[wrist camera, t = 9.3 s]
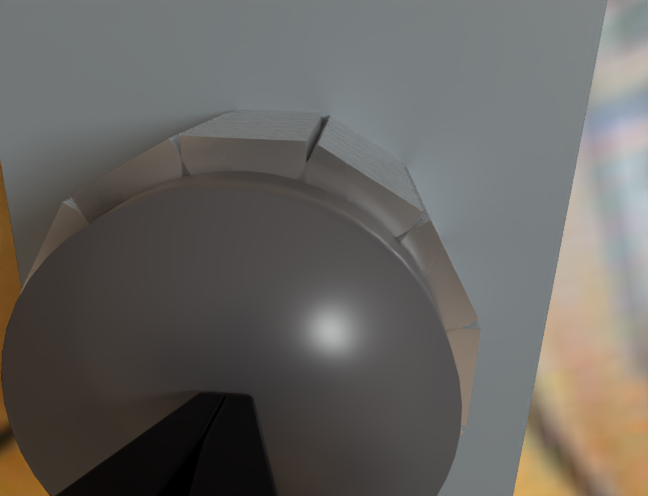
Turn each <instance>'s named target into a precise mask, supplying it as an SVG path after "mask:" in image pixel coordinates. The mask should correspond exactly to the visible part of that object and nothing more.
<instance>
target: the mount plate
mask: <svg viewBox="0 0 648 496" xmlns="http://www.w3.org/2000/svg"><path fill="white" fill-rule="evenodd" d="M606 5H607V0H0V161H1V167H2V173H3V179H4V185H5V191H6V198H7V204H8V210H9V216H10V222H11V228H12V234H13V240H14V246H15V252H16V258H17V264H18V270H19V276H20V282H21V288H23V286H24V283H25V281H26V279H27V277H28V275H29V273H30V271H31V268H32V266H33V264H34V262H35V260H36V258H37V256H38V253H39V251H40V249H41V247H42V245H43V243H44V240H45V238H46V236H47V234H48V232H49V230H50V228H51V225H52V223H53V221H54V219H55V217H56V215H57V213H58V210H59V208H60V206H61V204H62V202H64V201H66V200H68V199H70V198H71V197H70V194H71V193H73V192H75V191H77V190H78V189H80V188H82V187H84V186H86V185H87V184H89V183H91V182H93V181H94V180H96V179H98V178H100V177H101V176H103V175H105V174H107V173H108V172H110V171H112V170H114V169H115V168H117V167H119V166H121V165H123V164H124V163H126V162H128V161H130V160H131V159H133V158H135V157H137V156H138V155H140V154H142V153H144V152H145V151H147V150H149V149H151V148H152V147H154V146H156V145H158V144H160V143H161V142H163V141H165V140H167V139H168V138H171V137H173V136H175V135H177V134H180V133H182V132H184V131H186V130H189V129H191V128H193V127H195V126H198V125H200V124H202V123H204V122H207V121H209V120H211V119H213V118H216V117H218V116H220V115H222V114H225V113H227V112H229V111H231V112H233V111H235V110H237V109H250V110H274V111H298V112H323V127H324V125H325V124H326V122H327V120H328V119H329V117H330V115H332V116H333V117H335V118H336V119H338V120H339V121H341V122H342V123H344V124H345V125H347V126H348V127H350V128H352V129H353V130H355V131H356V132H358V133H359V134H361V135H362V136H364V137H365V138H367V139H369V140H370V141H372V142H373V143H375V144H376V145H378V146H379V147H381V148H382V149H384V150H386V151H387V152H389V153H390V154H392V155H393V156H395V157H396V158H398V159H399V160H401V161H402V163H403V165H404V168H405V167H407V168H408V170H409V172H410V175H411V177H412V179H413V181H414V183H415V185H416V187H417V189H418V191H419V193H420V195H421V197H422V199H423V201H424V203H425V205H426V207H427V210H428V212H429V214H430V216H431V218H432V220H433V222H434V224H435V226H436V228H437V230H438V232H439V234H440V236H441V238H442V241H443V243H444V245H445V247H446V249H447V251H448V253H449V256H450V258H451V260H452V262H453V264H454V266H455V269H456V271H457V273H458V275H459V277H460V279H461V281H462V284H463V286H464V288H465V290H466V292H467V294H468V296H469V299H470V301H471V303H472V305H473V307H474V309H475V312H476V314H477V316H478V318H479V320H477V322H478V324H479V327H480V329H481V331H480V338H479V345H478V352H477V359H476V365H475V372H474V379H473V386H472V393H471V399H470V406H469V413H468V420H467V426H464V425H461V429H462V433H463V434H462V435H461V436H460V437H459V441H458V446H457V451H456V455H455V458H454V461H453V463H452V466H451V469H450V471H449V474H448V476H447V479H446V481H445V483H444V484H443V486H442V488H441V490H440V491H439V493H438V495H437V496H513V493H514V487H515V482H516V477H517V472H518V466H519V461H520V456H521V451H522V445H523V440H524V435H525V430H526V425H527V419H528V414H529V409H530V404H531V398H532V393H533V388H534V383H535V377H536V372H537V367H538V362H539V356H540V351H541V346H542V341H543V335H544V330H545V325H546V320H547V314H548V309H549V304H550V299H551V293H552V288H553V283H554V278H555V273H556V267H557V262H558V257H559V252H560V246H561V241H562V236H563V231H564V225H565V220H566V215H567V210H568V204H569V199H570V194H571V189H572V183H573V178H574V173H575V168H576V162H577V157H578V152H579V147H580V142H581V136H582V131H583V126H584V121H585V115H586V110H587V105H588V100H589V94H590V89H591V84H592V79H593V73H594V68H595V63H596V58H597V52H598V47H599V42H600V37H601V31H602V26H603V21H604V16H605V11H606ZM323 127H322V128H323Z"/></svg>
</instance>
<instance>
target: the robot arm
mask: <svg viewBox="0 0 648 496" xmlns="http://www.w3.org/2000/svg"><path fill="white" fill-rule="evenodd" d="M55 496H278V492H277V488H276V484H275V480H274V476H273V472H272V468H271V464H270V460H269V456H268V452H267V448H266V444H265V441H264V437H263V433H262V429H261V425H260V421H259V417H258V413H257V409H256V405H255V401H254V398H253V397H252V396H251V395H239V394H229V395H227V396H225V395H224V394H222V393H207V392H201V393H199V394H197V395H195V396H194V397H193V398H191V399H190V400H188V401H187V402H186V403H184V404H183V405H181V406H180V407H179V408H177V409H176V410H174V411H173V412H172V413H170V414H169V415H167V416H166V417H165V418H163V419H162V420H160V421H159V422H158V423H156V424H155V425H153V426H152V427H151V428H149V429H148V430H146V431H145V432H143V433H142V434H141V435H139V436H138V437H136V438H135V439H134V440H132V441H131V442H129V443H128V444H127V445H125V446H124V447H122V448H121V449H120V450H118V451H117V452H115V453H114V454H113V455H111V456H110V457H108V458H107V459H106V460H104V461H103V462H101V463H100V464H99V465H97V466H96V467H94V468H93V469H92V470H90V471H89V472H87V473H86V474H85V475H83V476H82V477H80V478H79V479H77V480H76V481H75V482H73V483H72V484H70V485H69V486H68V487H66V488H65V489H63V490H62V491H61V492H59V493H58V494H56V495H55Z"/></svg>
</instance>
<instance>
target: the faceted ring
mask: <svg viewBox="0 0 648 496" xmlns="http://www.w3.org/2000/svg"><path fill="white" fill-rule="evenodd" d="M322 127H323V112H298V111H274V110H250V109H237V110H235V111H233V112H231V111H229V112H227V113H225V114H222V115H220V116H218V117H216V118H213V119H211V120H209V121H207V122H204V123H202V124H200V125H198V126H195V127H193V128H191V129H189V130H186V131H184V132H182V133H180V134H177V135H175V136H173V137H171V138H168V139H167V140H165V141H163V142H161V143H160V144H158V145H156V146H154V147H152V148H151V149H149V150H147V151H145V152H144V153H142V154H140V155H138V156H137V157H135V158H133V159H131V160H130V161H128V162H126V163H124V164H123V165H121V166H119V167H117V168H115V169H114V170H112V171H110V172H108V173H107V174H105V175H103V176H101V177H100V178H98V179H96V180H94V181H93V182H91V183H89V184H87V185H86V186H84V187H82V188H80V189H78V190H77V191H75V192H73V193H71V194H70V197H71V198H70V199H68V200H66V201H64V202H62V204H61V206H60V208H59V210H58V213H57V215H56V217H55V219H54V221H53V223H52V225H51V228H50V230H49V232H48V234H47V236H46V238H45V240H44V243H43V245H42V247H41V249H40V251H39V253H38V256H37V258H36V260H35V262H34V264H33V266H32V268H31V271H30V273H29V275H28V277H27V279H26V281H25V283H24V286H23V288H22V290H21V292H20V294H21V293H22V291H23V289H24V287H25V286H26V284H27V282H28V280H29V279H30V277H31V276H32V275H33V274H34V272H35V271H36V270H37V269H38V267H39V266H40V265H41V264H42V262H43V261H44V260H45V259H46V257H48V256H49V255H50V254H51V253H52V252H53V251H54V250H55V249H56V248H57V247H59V246H60V245H61V244H62V243H63V242H64V241H65V240H66V239H67V238H69V237H70V236H72V235H73V234H75V233H76V232H78V231H79V230H81V229H82V228H84V227H85V226H87V225H88V224H90V223H91V222H93V221H95V220H96V219H98V218H99V217H101V216H102V215H104V214H106V213H107V212H109V211H110V210H112V209H114V208H115V207H117V206H118V205H120V204H121V203H123V202H125V201H126V200H128V199H129V198H131V197H133V196H134V195H136V194H138V193H140V192H143V191H145V190H147V189H149V188H151V187H153V186H155V185H158V184H160V183H163V182H167V181H170V180H173V179H177V178H180V177H183V176H187V175H194V174H200V173H206V172H212V171H251V172H260V173H270V174H275V175H279V176H283V177H288V178H292V179H296V180H300V181H303V182H306V183H308V184H311V185H314V186H316V187H319V188H321V189H324V190H327V191H329V192H331V193H333V194H335V195H336V196H338V197H340V198H342V199H344V200H346V201H348V202H350V203H351V204H353V205H355V206H356V207H358V208H359V209H360V210H362V211H363V212H365V213H366V214H367V215H369V216H370V217H372V218H373V219H374V220H376V221H377V222H378V223H379V224H380V225H381V226H382V227H384V228H385V229H386V230H387V231H388V232H389V233H390V234H391V235H392V236H393V237H394V238H395V239H396V240H397V241H398V242H399V243H400V244H401V245H402V247H403V248H404V249H405V250H406V252H407V253H408V254H409V255H410V257H411V258H412V259H413V260H414V261H415V263H416V265H417V266H418V268H419V270H420V271H421V273H422V275H423V276H424V278H425V280H426V281H427V283H428V285H429V287H430V290H431V292H432V294H433V297H434V299H435V301H436V304H437V306H438V309H439V312H440V315H441V318H442V321H443V324H444V327H445V330H446V334H447V337H448V340H449V343H450V346H451V349H452V352H453V356H454V360H455V364H456V367H457V371H458V375H459V379H460V389H461V399H462V417H461V425H464V426H467V420H468V413H469V406H470V399H471V393H472V386H473V379H474V372H475V365H476V359H477V352H478V345H479V338H480V331H481V329H480V327H479V324H478V322H477V320H479V318H478V316H477V314H476V312H475V309H474V307H473V305H472V303H471V301H470V299H469V296H468V294H467V292H466V290H465V288H464V286H463V284H462V281H461V279H460V277H459V275H458V273H457V271H456V269H455V266H454V264H453V262H452V260H451V258H450V256H449V253H448V251H447V249H446V247H445V245H444V243H443V241H442V238H441V236H440V234H439V232H438V230H437V228H436V226H435V224H434V222H433V220H432V218H431V216H430V214H429V212H428V210H427V207H426V205H425V203H424V201H423V199H422V197H421V195H420V193H419V191H418V189H417V187H416V185H415V183H414V181H413V179H412V177H411V175H410V172H409V170H408V168H407V167H405V168H404V165H403V163H402V161H401V160H399V159H398V158H396V157H395V156H393V155H392V154H390V153H389V152H387V151H386V150H384V149H382V148H381V147H379V146H378V145H376V144H375V143H373V142H372V141H370V140H369V139H367V138H365V137H364V136H362V135H361V134H359V133H358V132H356V131H355V130H353V129H352V128H350V127H348V126H347V125H345V124H344V123H342V122H341V121H339V120H338V119H336V118H335V117H333V116H332V115H330V117H329V119H328V120H327V122H326V124H325V125H324V127H323V128H322ZM462 434H463V433H462V429H461V432H460V436H461V435H462Z"/></svg>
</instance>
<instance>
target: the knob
mask: <svg viewBox="0 0 648 496" xmlns="http://www.w3.org/2000/svg"><path fill="white" fill-rule="evenodd" d="M1 380H2V389H3V397H4V404H5V408H6V412H7V415H8V419H9V423H10V427H11V430H12V432H13V434H14V437H15V439H16V441H17V444H18V446H19V449H20V451H21V453H22V455H23V456H24V458H25V460H26V462H27V463H28V465H29V467H30V468H31V470H32V472H33V474H34V475H35V477H36V478H37V479H38V480H39V482H40V483H41V484H42V486H43V487H44V488H45V490H46V491H47V492H48V494H49V495H50V496H55V495H56V494H58V493H59V492H61V491H62V490H63V489H65V488H66V487H68V486H69V485H70V484H72V483H73V482H75V481H76V480H77V479H79V478H80V477H82V476H83V475H85V474H86V473H87V472H89V471H90V470H92V469H93V468H94V467H96V466H97V465H99V464H100V463H101V462H103V461H104V460H106V459H107V458H108V457H110V456H111V455H113V454H114V453H115V452H117V451H118V450H120V449H121V448H122V447H124V446H125V445H127V444H128V443H129V442H131V441H132V440H134V439H135V438H136V437H138V436H139V435H141V434H142V433H143V432H145V431H146V430H148V429H149V428H151V427H152V426H153V425H155V424H156V423H158V422H159V421H160V420H162V419H163V418H165V417H166V416H167V415H169V414H170V413H172V412H173V411H174V410H176V409H177V408H179V407H180V406H181V405H183V404H184V403H186V402H187V401H188V400H190V399H191V398H193V397H194V396H195V395H197V394H199V393H201V392H207V393H222V394H224V395H225V396H227V395H229V394H239V395H251V396H252V397H253V398H254V401H255V405H256V409H257V413H258V417H259V421H260V425H261V429H262V433H263V437H264V441H265V444H266V448H267V452H268V456H269V460H270V464H271V468H272V472H273V476H274V480H275V484H276V488H277V492H278V496H437V495H438V493H439V491H440V490H441V488H442V486H443V484H444V483H445V481H446V479H447V476H448V474H449V471H450V469H451V466H452V463H453V461H454V458H455V455H456V451H457V446H458V441H459V437H460V432H461V417H462V399H461V389H460V379H459V375H458V371H457V367H456V364H455V360H454V356H453V352H452V349H451V346H450V343H449V340H448V337H447V334H446V330H445V327H444V324H443V321H442V318H441V315H440V312H439V309H438V306H437V304H436V301H435V299H434V297H433V294H432V292H431V290H430V287H429V285H428V283H427V281H426V280H425V278H424V276H423V275H422V273H421V271H420V270H419V268H418V266H417V265H416V263H415V261H414V260H413V259H412V258H411V257H410V255H409V254H408V253H407V252H406V250H405V249H404V248H403V247H402V245H401V244H400V243H399V242H398V241H397V240H396V239H395V238H394V237H393V236H392V235H391V234H390V233H389V232H388V231H387V230H386V229H385V228H384V227H382V226H381V225H380V224H379V223H378V222H377V221H376V220H374V219H373V218H372V217H370V216H369V215H367V214H366V213H365V212H363V211H362V210H360V209H359V208H358V207H356V206H355V205H353V204H351V203H350V202H348V201H346V200H344V199H342V198H340V197H338V196H336V195H335V194H333V193H331V192H329V191H327V190H324V189H321V188H319V187H316V186H314V185H311V184H308V183H306V182H303V181H300V180H296V179H292V178H288V177H283V176H279V175H275V174H270V173H260V172H251V171H212V172H206V173H200V174H194V175H187V176H183V177H180V178H177V179H173V180H170V181H167V182H163V183H160V184H158V185H155V186H153V187H151V188H149V189H147V190H145V191H143V192H140V193H138V194H136V195H134V196H133V197H131V198H129V199H128V200H126V201H125V202H123V203H121V204H120V205H118V206H117V207H115V208H114V209H112V210H110V211H109V212H107V213H106V214H104V215H102V216H101V217H99V218H98V219H96V220H95V221H93V222H91V223H90V224H88V225H87V226H85V227H84V228H82V229H81V230H79V231H78V232H76V233H75V234H73V235H72V236H70V237H69V238H67V239H66V240H65V241H64V242H63V243H62V244H61V245H60V246H59V247H57V248H56V249H55V250H54V251H53V252H52V253H51V254H50V255H49V256H48V257H46V259H45V260H44V261H43V262H42V264H41V265H40V266H39V267H38V269H37V270H36V271H35V272H34V274H33V275H32V276H31V277H30V279H29V280H28V282H27V284H26V286H25V287H24V289H23V291H22V293H21V295H20V296H19V298H18V300H17V302H16V304H15V307H14V309H13V312H12V315H11V318H10V320H9V323H8V326H7V329H6V335H5V340H4V345H3V351H2V372H1Z"/></svg>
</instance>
